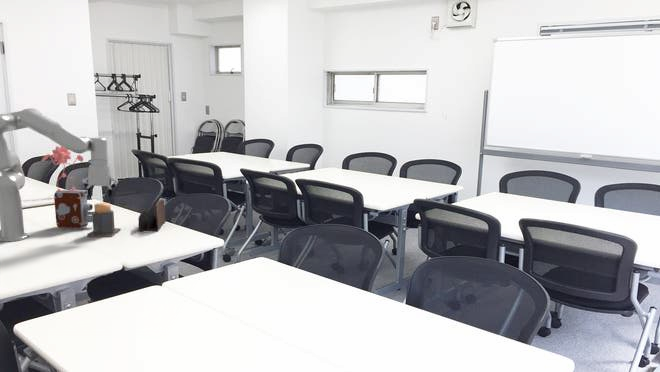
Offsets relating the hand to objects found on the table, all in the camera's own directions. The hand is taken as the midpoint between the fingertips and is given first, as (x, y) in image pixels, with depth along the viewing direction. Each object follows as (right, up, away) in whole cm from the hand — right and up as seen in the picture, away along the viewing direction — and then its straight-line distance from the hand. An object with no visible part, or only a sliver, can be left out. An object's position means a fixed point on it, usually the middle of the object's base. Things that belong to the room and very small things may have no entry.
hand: (100, 196), depth 254 cm
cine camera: (-19, -17, +15) cm, 30 cm away
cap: (0, -11, +2) cm, 11 cm away
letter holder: (+20, -17, +18) cm, 32 cm away
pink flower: (-70, -2, +98) cm, 120 cm away
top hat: (0, -19, +3) cm, 19 cm away
